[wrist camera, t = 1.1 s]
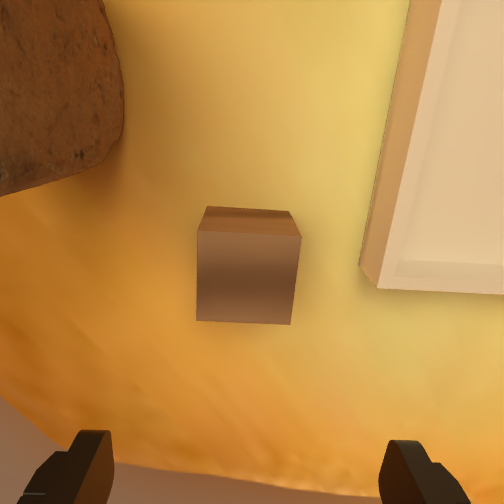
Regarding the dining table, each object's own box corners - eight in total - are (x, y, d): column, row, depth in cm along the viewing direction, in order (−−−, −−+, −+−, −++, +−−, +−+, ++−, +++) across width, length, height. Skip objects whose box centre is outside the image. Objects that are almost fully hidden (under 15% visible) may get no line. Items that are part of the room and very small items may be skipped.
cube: (207, 205, 25) (197, 230, 19) (288, 210, 25) (301, 236, 20) (206, 279, 27) (196, 320, 21) (280, 283, 27) (290, 324, 22)
